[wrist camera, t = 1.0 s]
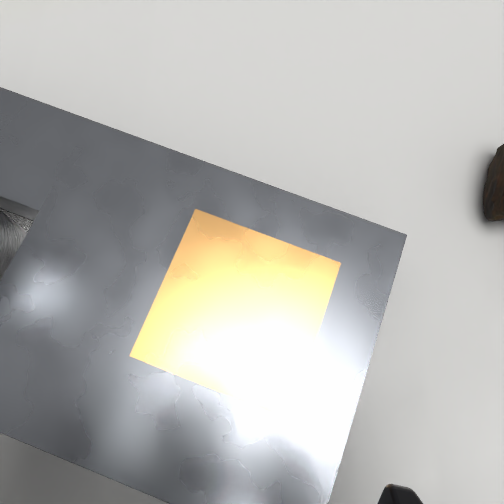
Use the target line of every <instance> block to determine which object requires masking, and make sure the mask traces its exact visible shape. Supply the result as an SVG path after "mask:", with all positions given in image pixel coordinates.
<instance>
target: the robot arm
mask: <svg viewBox="0 0 504 504" xmlns="http://www.w3.org/2000/svg"><path fill="white" fill-rule="evenodd" d="M378 504H423V503H422V501H421V500H420V499H419V497H418V496H417V494H416V493H415V492H414V491H413V490H412V489H410V488H408V487H403V486H399V485H394V484H388V485H387V486H385V488H384V490H383V492H382V495H381V497H380V499H379V502H378Z"/></svg>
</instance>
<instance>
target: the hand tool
mask: <svg viewBox="0 0 504 504" xmlns="http://www.w3.org/2000/svg"><path fill="white" fill-rule="evenodd" d="M483 205H484V214H485V216H486V218H487V219H488V220H490V221H498V220H502V219H504V144H503V145H501V146H500V147H499V148H498V149H497V152H496V155H495V157H494V159H493V161H492V162H491V164H490V165H489V168H488V177H487V181H486V184H485V187H484V197H483Z"/></svg>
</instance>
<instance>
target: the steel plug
mask: <svg viewBox="0 0 504 504" xmlns="http://www.w3.org/2000/svg"><path fill="white" fill-rule="evenodd" d="M26 234H27V232H26V231H25V230H24V229H23V228H22V227H21V226H20V225H18V224H17V223H16V222H14V221H13V220H12V219H10V218H9V217H8V216H6V215H5V214H4V213H2V212H1V211H0V281H1V279H2V277H3V275H4V273H5V272H6V270H7V268H8V266H9V265H10V263H11V261H12V259H13V257H14V256H15V254H16V252H17V250H18V248H19V247H20V245H21V243H22V241H23V239H24V238H25V236H26Z"/></svg>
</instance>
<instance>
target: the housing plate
mask: <svg viewBox="0 0 504 504" xmlns="http://www.w3.org/2000/svg"><path fill="white" fill-rule="evenodd" d="M0 208H1V209H4V210H7V211H9V212H12V213H14V214H17V215H20V216H22V217H25V218H27V219H30V220H33V221H34V222H33V223H32V225H31V227H30V229H29V231H28V232H27V234H26V236H25V238H24V239H23V241H22V243H21V245H20V247H19V248H18V250H17V252H16V254H15V256H14V257H13V259H12V261H11V263H10V265H9V266H8V268H7V270H6V272H5V273H4V275H3V277H2V279H1V281H0V433H2V434H5V435H7V436H10V437H12V438H14V439H17V440H19V441H22V442H24V443H26V444H29V445H31V446H33V447H36V448H38V449H41V450H43V451H45V452H48V453H50V454H53V455H55V456H57V457H60V458H62V459H64V460H67V461H69V462H72V463H74V464H76V465H79V466H81V467H84V468H86V469H88V470H91V471H93V472H95V473H98V474H100V475H103V476H105V477H107V478H110V479H112V480H115V481H117V482H119V483H122V484H124V485H126V486H129V487H131V488H134V489H136V490H138V491H141V492H143V493H145V494H148V495H150V496H153V497H155V498H157V499H160V500H162V501H165V502H167V503H169V504H328V503H329V499H330V496H331V493H332V489H333V486H334V482H335V479H336V476H337V472H338V469H339V465H340V462H341V458H342V455H343V452H344V448H345V445H346V441H347V438H348V435H349V431H350V428H351V424H352V421H353V418H354V414H355V411H356V407H357V404H358V400H359V397H360V394H361V390H362V387H363V383H364V380H365V377H366V373H367V370H368V366H369V363H370V360H371V356H372V353H373V349H374V346H375V343H376V339H377V336H378V332H379V329H380V325H381V322H382V319H383V315H384V312H385V308H386V305H387V302H388V298H389V295H390V291H391V288H392V285H393V281H394V278H395V274H396V271H397V267H398V264H399V261H400V257H401V254H402V250H403V247H404V244H405V240H406V237H407V235H406V234H403V233H400V232H398V231H395V230H392V229H389V228H387V227H384V226H381V225H378V224H376V223H373V222H370V221H367V220H365V219H362V218H359V217H356V216H354V215H351V214H348V213H345V212H343V211H340V210H337V209H334V208H332V207H329V206H326V205H323V204H320V203H318V202H315V201H312V200H309V199H307V198H304V197H301V196H298V195H296V194H293V193H290V192H287V191H285V190H282V189H279V188H276V187H274V186H271V185H268V184H265V183H263V182H260V181H257V180H254V179H252V178H249V177H246V176H243V175H241V174H238V173H235V172H232V171H230V170H227V169H224V168H221V167H219V166H216V165H213V164H210V163H208V162H205V161H202V160H199V159H197V158H194V157H191V156H188V155H186V154H183V153H180V152H177V151H175V150H172V149H169V148H166V147H164V146H161V145H158V144H155V143H153V142H150V141H147V140H144V139H142V138H139V137H136V136H133V135H130V134H128V133H125V132H122V131H119V130H117V129H114V128H111V127H108V126H106V125H103V124H100V123H97V122H95V121H92V120H89V119H86V118H84V117H81V116H78V115H75V114H73V113H70V112H67V111H64V110H62V109H59V108H56V107H53V106H51V105H48V104H45V103H42V102H40V101H37V100H34V99H31V98H29V97H26V96H23V95H20V94H18V93H15V92H12V91H9V90H7V89H4V88H1V87H0Z"/></svg>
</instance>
